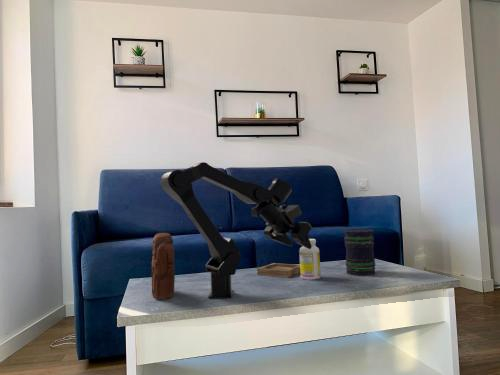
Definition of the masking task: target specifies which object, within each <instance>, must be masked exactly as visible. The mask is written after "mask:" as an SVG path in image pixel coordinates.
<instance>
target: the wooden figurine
mask: <svg viewBox="0 0 500 375" xmlns="http://www.w3.org/2000/svg"><path fill="white" fill-rule="evenodd" d="M151 249H152V256H151V257H152V260H151V294H152V297H153V298H155V300H164V299H165V300H166V299H170V298H172V297H173V296H174V295H175V280H176V279H175V278H176V276H175V274H176V273H175V271H176V270H175V248H174V240H173V237H172V235H171V234H170V233H168V232H158V233H156V234H155V235H154V237H153V238H152V248H151Z"/></svg>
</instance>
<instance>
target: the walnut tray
mask: <svg viewBox="0 0 500 375" xmlns="http://www.w3.org/2000/svg"><path fill="white" fill-rule="evenodd" d="M256 270H257V274H256V275H258V276H265V277H266V276H268V277H275V278H276V277H277V278H285V279H287V278H290V277H293V276H295V275H297V274H299V273H300V264H293V263H292V264H290V263H280V262H279V263H278V262H277V263H276V262H273V263H270V264H267V265H264V266H260V267H258V268H257V269H256Z"/></svg>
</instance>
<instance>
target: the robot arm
mask: <svg viewBox="0 0 500 375" xmlns="http://www.w3.org/2000/svg"><path fill="white" fill-rule="evenodd" d="M200 179H202V180H204V181H205V182H208V183H210V184H213V185H216V186H217V187H219V188H222V189H223V190H226V191H228V192H231V193H232V194H234V195H235V196H236V197H237V199H238V200H241V201H242V202H243V203H245V204H248V205H250V204H251V205H256V204H257V205H256V206H255V207H251V217H261V218H263V220H264V221H265V222H266V223H265V226H266V227H265V228H264V229H263V235H264V236H265V237H266V238H267V239H270V240H273V241H275V242H278V243H280V244H283V245H286V246H288V247H293V246H294V243H297V244H298V245H300V246H301V247H302V246H304V247H306V248H308V249H311V247H312V246H311V243H310V240H309V239H310V237H309V233H310V232H311V231H312V228H313V227H312V225H311V224H310V223H309V221H298V222H297V223H296V224H295V225H293V224H294V223H295V222H296V220H295V219H296V218H297V217H299V216H302V214H303V213H302V211H301V209H300V206H299V204H290V205H286V204H283V203H284V202H285V201H286V200H287V199H288V197H289V196H290V194H291V192H292V191H293V188H292V186H291V185H290V184H289V183H287V182H285V181H283V180H281V179H280V178H279V177H276V178H274V179H273V180H272V183H271V184H270V185H269V187H268V188H265V186H263V185H262V184H259V183H255V182H251V181H250V182H249V181H245V180H241V179H239V178H236V177H235V176H233V175H230V174H228V173H227V172H224V171H222V170H220V169H218V168H216V167H214V166H211V165H210V164H208V163H207V162H198V163H195V164H194V165H193V166H190V167H188V168H185V169H182V170H181V169H174V170H171V171H168V172H166V173H164V174H163V175H162V176H161V179H160V183H159V184H160V186H161V188H162V190H163V191H164V192H165V193H166V194H167V195H168V196H169V197H170V198H172V199H173V200H174V201H175V202H176V203H178V204H179V205H180V206H181V208H182V209H183V210H184V211H185V214H187V216H188V218H189V219H190V221H191V222H192V223H193V224H194V226H195V227H196V229H197V230H198V233H200V235H201V236H202V238H203V239H204V241H205V242H206V243H207V246H208V251H209V252H208V253H209V254H210V256H211V258H209V260H208V261H207V262H206V264H205V265H204V266H205V270H206V272H207V273H210V291H211V292H210V293H209V294H208V296H207V298H208V299H231V298H233V295H234V293H235V290H233V289H232V276H235V275H236V273H237V268H238V265H239V264H240V261H241V253H240V250H241V249H240V248H239V247H238V246H237V244H236V243H235V241H234V239H233V238H230V237H223V236H222V235H221V233H220V231H219V230H218V229H217V228H218V227H216V225H215V224H214V223H213V221H212V220H211V218H210V217H209V215H208V214H207V212H206V210H205V209H204V208H203V207H202V205H201V203H200V201H199V200H198V199H197V197H196V196H195V192H194V187H193V186H194V185H193V183H194V182H196V181H198V180H200ZM278 206H279V207H278ZM288 234H290V237H289V236H288ZM290 238H291V239H292V240H293V241H294V243H293V241H292V240H291V239H290Z"/></svg>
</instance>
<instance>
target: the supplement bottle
mask: <svg viewBox="0 0 500 375" xmlns="http://www.w3.org/2000/svg"><path fill="white" fill-rule="evenodd" d="M309 240H310V243H311V246H312V247H311V249H308V248H306V247H304V246H302V245H301V247H300V248H299V251H298V252H299V253H298V254H299V265H300V278H301V279H304V280H307V281H309V280H310V281H311V280H313V281H315V280H318V279H320V278H321V277H322V276H321V260H320V259H321V258H320V256H321V255H320V248H319V247H317V246H316V243H317V240H316V239H315V238H309Z"/></svg>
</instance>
